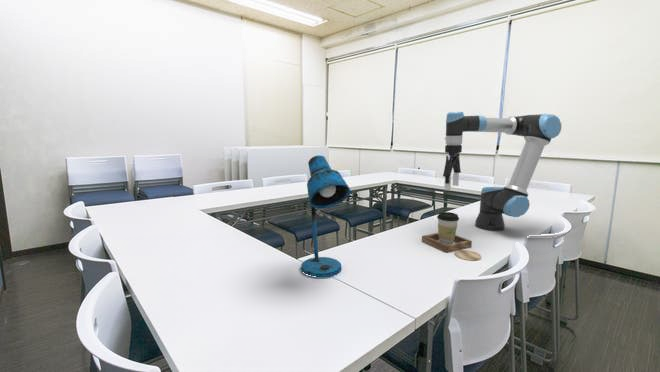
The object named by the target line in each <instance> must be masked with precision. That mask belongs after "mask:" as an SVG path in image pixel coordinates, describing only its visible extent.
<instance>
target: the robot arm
mask: <svg viewBox="0 0 660 372" xmlns="http://www.w3.org/2000/svg"><path fill="white" fill-rule="evenodd" d="M464 114H465V113H464V111H449V112H447V114H446V118H445V137H444V140H445V145H444V146H445V147H444V153H447V154H448V155H445V157H446V159H445V165H444V171H443V173H442V177H444V187H443V189H444V191H451V188H452V186H459V179H460V173H461V172H462V170H461V161H460V155H461V154H460V153H462V152H463V150H462V149H463V145H462V144H463V133H464V132H465V133H466V132H472V133H473V132H474V133H475V132H476V133H480V132H481V133H504V134H505V135H508V136H510V135H512V136H518V137H523V138H524V140H525V141H524V142H525V143H524V144H523V145H524V146H523V148H522V150H521V152H520V155H519V156H518V157H519V158H518V160H517V162H516V165H515V168H514V170H513V172H512V175H511V177H510V180H509V182H508V184H507V185H505V186H503V187H502V186H484V187H482V189H481V192H480V202H479V213H478V215H477V217H476V219H475V223H474V225H475V227H476V228H479V229H481V230H487V231H496V232H497V231H498V232H499V231H503V230H505V227H506V224H505V220H504V216H503V215H505V216H508V217H513V218H519V217H521V216H524V215H525V214H526V213H527V212H528V210H529V208H530V200H529V198H528V196H529V193H528V191H527V190H528V189H529V188H528V187H529V185H530V183H531V180H532V178H533V176H534V173H535V170H536V167H537V165H538V164H539V160H540V159H541V155H542V153H543V151H544V149H545V146H547V145H550V144H551V141H552V139H554V138H557V137H558V136H559V135H560V134H561V131H562V122H561V119H560V118H559V117H558V116H557V115H555V114H552V113H549V114H548V113H543V114H540V113H539V114H525V115H520V116H519V115H518V116H508V117H507V118H506V117H486V116H485V115H464ZM452 171H453V173H452ZM451 175H452V177H451Z"/></svg>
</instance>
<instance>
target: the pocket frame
mask: <svg viewBox="0 0 660 372" xmlns="http://www.w3.org/2000/svg"><path fill="white" fill-rule="evenodd" d="M421 242H422V243H424V244H426V245H429V246H431V247H433V248H434V249H437V250H439V251H442V252H443V253H447V254H448V253H452V252H456V251H458V250H465V249H470V248H472V246H473V244H472V243H473V241H472V240H470V239H467V238H465V237H462V236H459V235H457V234H455V238H454V242H453V244H449V245H446V244H444V243H441V242H439V233H438V232H436V233H431V234H430V233H429V234H425V235H422V236H421Z"/></svg>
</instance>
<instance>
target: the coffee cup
mask: <svg viewBox="0 0 660 372" xmlns="http://www.w3.org/2000/svg"><path fill="white" fill-rule="evenodd" d="M436 218H437V222H438V223H437V229H438V230H437V231H438V232H437V233H439V240H438V241H439V242H441V243H444V244H446V245H449V244H454V243H455V242H454V238H455V235H457V233H456V232H457V229H458V223H459V220H460V217H459V214H457V213H455V212H449V211H448V212H447V211H442V212H438V215H437V217H436Z"/></svg>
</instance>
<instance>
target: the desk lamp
mask: <svg viewBox="0 0 660 372" xmlns="http://www.w3.org/2000/svg"><path fill="white" fill-rule="evenodd" d="M325 157H326V156H324V155H314V156H312V157H311V158H310V159H309V160H308V162H307V164H308V170H309V174H310V177H309V179H308V181H307V183H306V187H307V196H308V203H309V206H310V208H311V211H310V212H311V226H312V227H311V229H312V241H313V243H312V245H313V253H314V256H313V257H312V258H311V257H310V258H308V259H306V260H304V261H303V262H302V263H301V266H300V267H301V268H300V271H301V270H302V271H301V273H302V272H304V273H305V274H308V275H311V276H316V277H329V278H332V277H331V276H333V277H335V276H334V275H336V276H338V275H339V274H340V273H341V272H342V264H341V262H340V261H339V260H337V259H336V258H334V257H333V258H331V257H329V256H328V257H327V256H319V248H318V247H319V246H318V245H319V244H318V232H317V216H316V214H317V213H316V209H318V210H319V209H329V208H332V207H334V206H336V205H339V204H340V203H343V202H344V201H345V200H346V199H347V198H348V197H349V196H350V194H351V188H350V187H349V185H348V183H347V182H346V180H345V179H344V178H343V176H342V174H341V173H340V172H339V171H338V170H336V169H332V167H331V166H330V164H329V162H328V161H327V158H325ZM338 273H339V274H338ZM305 274H304V275H305ZM337 274H338V275H337Z"/></svg>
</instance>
